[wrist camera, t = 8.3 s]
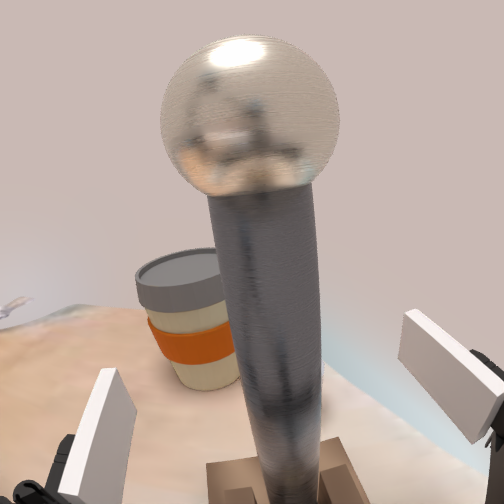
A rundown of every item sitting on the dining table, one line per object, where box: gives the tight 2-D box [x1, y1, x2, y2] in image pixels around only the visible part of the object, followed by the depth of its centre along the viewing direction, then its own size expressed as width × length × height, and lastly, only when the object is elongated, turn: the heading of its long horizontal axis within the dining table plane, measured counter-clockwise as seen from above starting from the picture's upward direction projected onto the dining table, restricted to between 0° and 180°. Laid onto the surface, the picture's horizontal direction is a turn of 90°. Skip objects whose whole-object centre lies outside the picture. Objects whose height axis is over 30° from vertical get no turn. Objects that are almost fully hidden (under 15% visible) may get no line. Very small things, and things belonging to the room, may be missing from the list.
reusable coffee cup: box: [135, 248, 240, 391], centre depth 36 cm, size 13×13×15 cm
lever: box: [160, 35, 340, 504], centre depth 9 cm, size 4×4×24 cm
